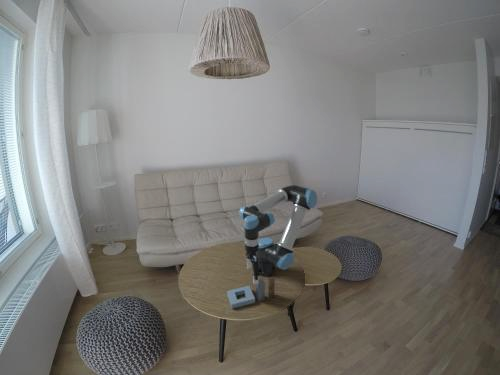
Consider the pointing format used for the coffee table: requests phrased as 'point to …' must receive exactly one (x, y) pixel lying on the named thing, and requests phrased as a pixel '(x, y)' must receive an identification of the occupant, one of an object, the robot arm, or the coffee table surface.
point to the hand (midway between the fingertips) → (252, 275)
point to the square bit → (260, 290)
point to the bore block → (243, 301)
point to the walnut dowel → (271, 287)
